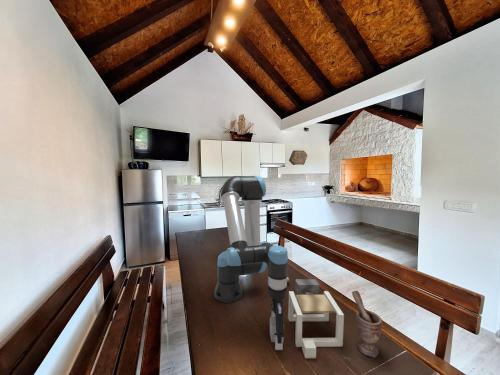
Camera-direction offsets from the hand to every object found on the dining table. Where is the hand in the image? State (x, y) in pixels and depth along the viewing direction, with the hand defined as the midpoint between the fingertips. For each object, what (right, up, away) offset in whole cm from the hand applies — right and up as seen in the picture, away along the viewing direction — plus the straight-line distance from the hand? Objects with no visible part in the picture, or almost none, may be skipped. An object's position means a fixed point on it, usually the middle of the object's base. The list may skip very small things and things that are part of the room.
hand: (276, 336), depth 88 cm
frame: (+16, 0, +3) cm, 16 cm away
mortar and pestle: (+33, -1, -4) cm, 33 cm away
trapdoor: (+16, +12, +6) cm, 21 cm away
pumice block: (+11, -1, -8) cm, 14 cm away
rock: (+6, +3, +42) cm, 42 cm away
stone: (0, 0, 0) cm, 0 cm away
